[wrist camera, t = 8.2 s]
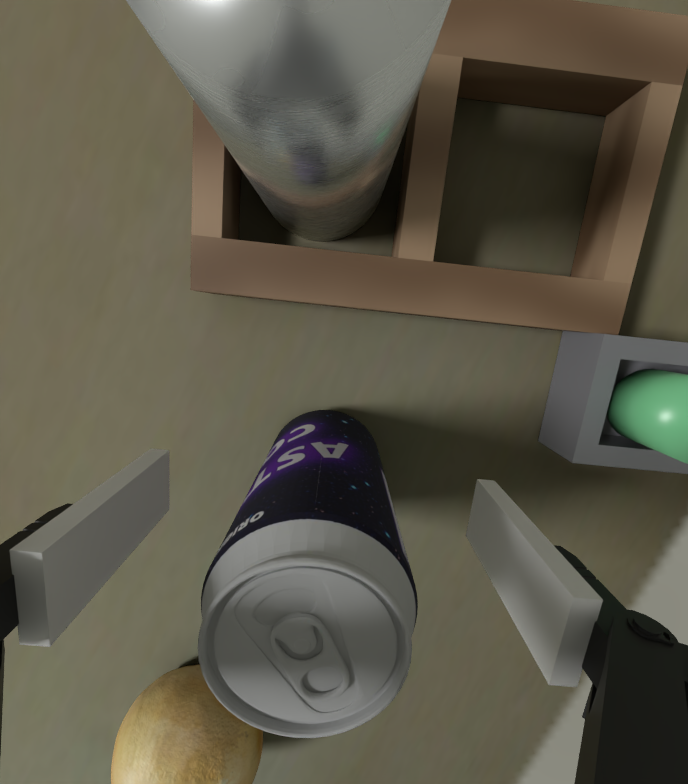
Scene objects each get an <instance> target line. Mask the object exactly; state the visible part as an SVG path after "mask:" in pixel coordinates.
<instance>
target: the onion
mask: <svg viewBox="0 0 688 784" xmlns="http://www.w3.org/2000/svg"><path fill="white" fill-rule="evenodd" d="M262 745H263V730H260V729H258V728H255V727H253V726H251V725H249V724H247V723H246V722H244V721H242V720H240V719H239V718H237V717H236V716H235V715H233V714H232V713H231V712H230V711H228V710H227V709H226V708H225V707H224V706H223V705H222V704H221V703H220V702H219V701H218V700H217V698H216V697H215V696H214V694H213V693H212V691H211V690H210V688H209V687H208V685H207V683H206V681H205V678H204V676H203V674H202V671H201V667H200V664H198V665H192V666H185V667H182V668H178V669H175V670H172V671H170V672H168V673H166V674H164V675H163V676H161V677H160V678H158V679H157V680H156V681H154V682H153V683H152V684H151V685H150V686H149V687H147V688H146V689H145V690H144V691H143V692H142V693H141V694H140V695H139V696H138V698H137V699H136V700H135V702H134V703H133V704H132V706H131V708H130V709H129V711H128V713H127V714H126V716H125V718H124V720H123V722H122V724H121V726H120V729H119V732H118V734H117V738H116V742H115V746H114V752H113V758H112V766H111V784H252V783H253V780H254V778H255V775H256V772H257V769H258V766H259V762H260V758H261V753H262Z"/></svg>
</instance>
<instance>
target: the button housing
mask: <svg viewBox="0 0 688 784" xmlns="http://www.w3.org/2000/svg"><path fill="white" fill-rule="evenodd" d="M642 369H658V370H663V371H669V372H675V373H681V374H686V375H688V343H685V342H676V341H666V340H657V339H648V338H638V337H629V336H619V335H610V334H599V333H585V332H572V331H563V333H562V337H561V342H560V346H559V350H558V355H557V359H556V364H555V368H554V373H553V377H552V381H551V386H550V390H549V395H548V399H547V404H546V408H545V412H544V417H543V421H542V426H541V430H540V435H539V439H538V441H539V442H540V443H542V444H543V445H545V446H546V447H548V448H550V449H551V450H553V451H554V452H556V453H557V454H559V455H560V456H562V457H564V458H565V459H567V460H568V461H570V462H571V463H578V464H588V465H599V466H609V467H620V468H630V469H641V470H651V471H662V472H672V473H683V474H688V464H687V463H684V462H681V461H679V460H677V459H674V458H672V457H670V456H667V455H665V454H663V453H660V452H658V451H656V450H653V449H651V448H649V447H646V446H644V445H642V444H639V443H637V442H635V441H633V440H630V439H628V438H626V437H623V436H621V435H620V434H618V433H617V432H616V431H615V430H614V429H613V428H612V426H611V425H610V423H609V420H608V416H607V410H608V406H609V402H610V398H611V395H612V391H613V389H614V388H615V386H616V385H617V384H618V383H619V382H620V381H621V380H622V379H623V378H624V377H626V376H627V375H629V374H631V373H633V372H635V371H638V370H642Z"/></svg>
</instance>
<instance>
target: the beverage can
mask: <svg viewBox="0 0 688 784" xmlns="http://www.w3.org/2000/svg"><path fill="white" fill-rule="evenodd" d="M417 608H418V606H417V592H416V588H415V583H414V580H413V576H412V573H411V569H410V565H409V562H408V558H407V554H406V551H405V547H404V544H403V540H402V536H401V533H400V529H399V525H398V522H397V518H396V514H395V511H394V507H393V504H392V500H391V496H390V493H389V489H388V485H387V482H386V478H385V475H384V471H383V467H382V464H381V460H380V456H379V453H378V449H377V446H376V443H375V441H374V439H373V437H372V435H371V434H370V432H369V431H368V430H367V429H366V427H365V426H364V425H362V424H361V423H360V422H359V421H357V420H356V419H354V418H353V417H351V416H349V415H347V414H344V413H341V412H337V411H332V410H318V411H312V412H308V413H305V414H303V415H300V416H298V417H297V418H295V419H293V420H292V421H291V422H289V423H288V424H287V425H286V426H285V427H284V428H283V429H282V430H281V432H280V433H279V435H278V436H277V438H276V440H275V442H274V444H273V446H272V448H271V450H270V452H269V454H268V456H267V457H266V459H265V461H264V463H263V465H262V467H261V469H260V471H259V473H258V475H257V477H256V479H255V481H254V483H253V485H252V486H251V488H250V490H249V492H248V494H247V496H246V498H245V500H244V502H243V504H242V506H241V508H240V510H239V512H238V514H237V515H236V517H235V519H234V521H233V523H232V525H231V527H230V529H229V531H228V533H227V535H226V537H225V539H224V541H223V543H222V544H221V546H220V548H219V550H218V552H217V554H216V556H215V558H214V560H213V562H212V564H211V566H210V568H209V570H208V572H207V575H206V577H205V581H204V584H203V589H202V596H201V611H202V620H203V621H202V624H201V627H200V632H199V638H198V657H199V663H200V667H201V671H202V674H203V676H204V678H205V681H206V683H207V685H208V687H209V688H210V690H211V691H212V693H213V694H214V696H215V697H216V698H217V700H218V701H219V702H220V703H221V704H222V705H223V706H224V707H225V708H226V709H227V710H228V711H230V712H231V713H232V714H233V715H235V716H236V717H237V718H239V719H240V720H242V721H244V722H246V723H247V724H249V725H251V726H253V727H255V728H258V729H260V730H263V731H265V732H269V733H273V734H276V735H280V736H287V737H294V738H317V737H325V736H331V735H335V734H339V733H343V732H346V731H348V730H351V729H354V728H356V727H358V726H360V725H362V724H364V723H366V722H367V721H369V720H371V719H372V718H374V717H375V716H376V715H378V714H379V713H380V712H382V711H383V710H384V709H385V708H386V707H387V706H388V705H389V704H390V703H391V702H392V701H393V699H394V698H395V696H396V695H397V694H398V692H399V691H400V689H401V688H402V685H403V683H404V681H405V679H406V677H407V674H408V670H409V667H410V663H411V653H412V642H411V637H412V634H413V631H414V627H415V623H416V617H417Z"/></svg>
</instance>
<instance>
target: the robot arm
mask: <svg viewBox="0 0 688 784" xmlns="http://www.w3.org/2000/svg"><path fill="white" fill-rule="evenodd" d="M168 510H169V450H162V449H149V450H148V451H147V452H145V453H144V454H142V455H141V456H140V457H138V458H137V459H136V460H134V461H133V462H131V463H130V464H129V465H127V466H126V467H124V468H123V469H122V470H120V471H119V472H117V473H116V474H115V475H113V476H112V477H110V478H109V479H108V480H106V481H105V482H103V483H102V484H101V485H99V486H98V487H97V488H95V489H94V490H92V491H91V492H90V493H88V494H87V495H85V496H84V497H83V498H81V499H80V500H78V501H77V502H76V503H74V504H65V505H63V506H61V507H58V508H56V509H54V510H51V511H49V512H47V513H46V514H45V515H43V516H42V517H40V518H39V519H37V520H36V521H35V523H31V524H30V525H28V526H27V527H25V528H24V529H23V531H20V532H18V533H17V534H15V535H14V536H12V537H11V538H9V539H8V540H6V541H5V542H4V543H2V544H1V545H0V754H1V729H2V704H3V679H4V654H5V648H4V640H3V639H4V638H5V637H6V636H7V635H8V634H9V633H10V632H11V631H12V630H13V629H14V628H15V627H16V626H17V625H18V634H19V644H21V645H34V646H47V647H50V646H51V645H52V644H53V643H54V642H55V640H56V639H57V638H58V637H59V636H60V635H61V634H62V632H63V631H64V630H65V629H66V628H67V627H68V625H69V624H70V623H71V622H72V621H73V620H74V619H75V617H76V616H77V615H78V614H79V613H80V612H81V611H82V609H83V608H84V607H85V606H86V605H87V604H88V602H89V601H90V600H91V599H92V598H93V597H94V596H95V594H96V593H97V592H98V591H99V590H100V589H101V587H102V586H103V585H104V584H105V583H106V582H107V581H108V579H109V578H110V577H111V576H112V575H113V574H114V573H115V571H116V570H117V569H118V568H119V567H120V566H121V564H122V563H123V562H124V561H125V560H126V559H127V558H128V556H129V555H130V554H131V553H132V552H133V551H134V550H135V548H136V547H137V546H138V545H139V544H140V543H141V541H142V540H143V539H144V538H145V537H146V536H147V535H148V533H149V532H150V531H151V530H152V529H153V528H154V527H155V525H156V524H157V523H158V522H159V521H160V520H161V518H162V517H163V516H164V515H165V514H166V513H167V512H168ZM466 537H467V539H468V540H469V542H470V544H471V546H472V548H473V549H474V551H475V553H476V555H477V557H478V558H479V560H480V562H481V564H482V566H483V567H484V569H485V571H486V573H487V575H488V576H489V578H490V580H491V582H492V584H493V585H494V587H495V589H496V591H497V593H498V594H499V596H500V598H501V600H502V601H503V603H504V605H505V607H506V609H507V610H508V612H509V614H510V616H511V618H512V619H513V621H514V623H515V625H516V627H517V628H518V630H519V632H520V634H521V636H522V637H523V639H524V641H525V643H526V645H527V646H528V648H529V650H530V652H531V654H532V655H533V657H534V659H535V661H536V663H537V664H538V666H539V668H540V670H541V672H542V673H543V675H544V677H545V679H546V680H547V682H548V684H549V685H556V686H569V687H577V685H578V682H579V678H580V675H581V672H582V669H584V671H585V672H586V674H587V675H588V677H589V678H590V680H591V681H592V683H593V684H592V687H591V690H590V693H589V696H588V700H587V703H586V706H585V709H584V713H583V716H582V717H583V718H585V723H584V729H583V736H582V742H581V748H580V754H579V760H578V766H577V772H576V778H575V784H688V645H684V644H681V643H678V641H677V639H676V637H675V636H674V635H673V634H672V633H671V632H670V631H669V630H668V629H667V628H665V627H664V626H663V625H661V624H660V623H659V622H657V621H655V620H654V619H652V618H650V617H648V616H646V615H644V614H641V613H639V612H636V611H633V610H627V609H626V608H625V607H624V606H623V605H622V604H621V603H620V602H619V601H618V600H617V599H616V598H615V597H614V596H613V595H612V594H611V593H610V592H609V591H608V590H607V589H606V587H605V586H604V585H603V584H602V583H601V582H600V581H599V580H597V579H596V577H595V576H594V575H593V574H592V573H591V572H590V571H589V570H587V568H586V567H585V566H584V565H583V563H582V562H581V561H580V560H579V559H578V558H577V557H576V556H574V555H573V554H571V553H570V552H568V551H567V550H566V549H564V548H563V547H561V546H554V545H553V544H552V543H551V542H550V541H549V540H548V539H547V538H546V537H545V535H544V534H543V533H542V532H541V531H540V530H539V529H538V528H537V527H536V526H535V524H534V523H533V522H532V521H531V520H530V519H529V518H528V517H527V516H526V515H525V513H524V512H523V511H522V510H521V509H520V508H519V507H518V506H517V505H516V504H515V502H514V501H513V500H512V499H511V498H510V497H509V496H508V495H507V494H506V493H505V491H504V490H503V489H502V488H501V487H500V486H499V485H498V484H497V483H496V482H495V481H494V480H483V479H477V482H476V487H475V492H474V497H473V502H472V507H471V512H470V517H469V522H468V527H467V533H466Z"/></svg>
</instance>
